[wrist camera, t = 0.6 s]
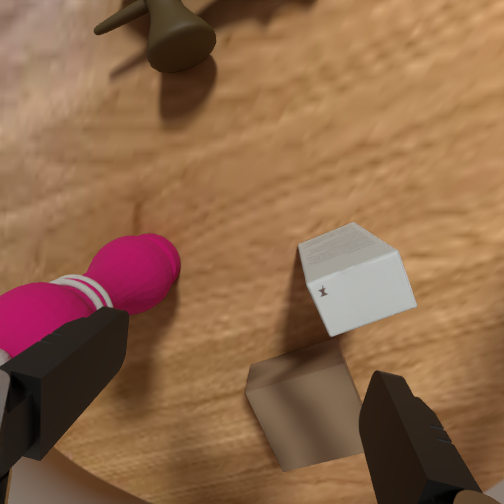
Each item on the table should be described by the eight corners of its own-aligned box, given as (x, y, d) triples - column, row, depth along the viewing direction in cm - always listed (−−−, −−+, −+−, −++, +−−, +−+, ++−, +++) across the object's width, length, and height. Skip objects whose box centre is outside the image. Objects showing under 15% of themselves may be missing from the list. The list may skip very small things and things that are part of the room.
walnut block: (335, 336, 34) (343, 363, 29) (365, 411, 35) (378, 449, 31) (250, 363, 36) (245, 392, 31) (283, 433, 37) (283, 471, 32)
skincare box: (312, 281, 32) (327, 340, 21) (296, 243, 31) (303, 283, 20) (370, 259, 31) (420, 308, 19) (355, 219, 30) (398, 247, 19)
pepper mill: (107, 259, 34) (-128, 369, 15) (149, 214, 32) (-53, 271, 13) (155, 305, 35) (-9, 469, 15) (199, 264, 33) (76, 388, 14)
